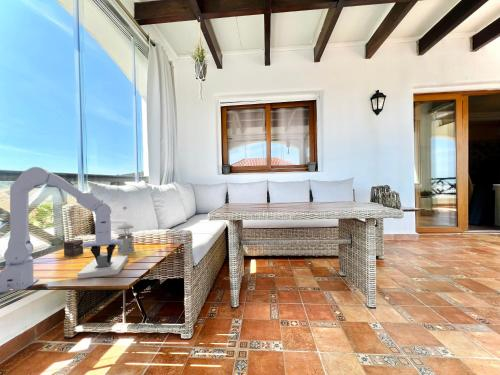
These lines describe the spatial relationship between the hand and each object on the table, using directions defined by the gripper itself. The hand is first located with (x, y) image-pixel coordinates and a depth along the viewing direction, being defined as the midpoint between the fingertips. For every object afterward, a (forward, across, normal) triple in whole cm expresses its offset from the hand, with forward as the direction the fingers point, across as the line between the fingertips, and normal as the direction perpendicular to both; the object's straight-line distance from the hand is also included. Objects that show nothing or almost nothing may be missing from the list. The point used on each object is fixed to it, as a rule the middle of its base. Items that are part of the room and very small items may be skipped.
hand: (104, 262), depth 101 cm
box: (+3, +23, -32) cm, 40 cm away
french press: (+3, -3, -28) cm, 28 cm away
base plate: (+3, 0, -2) cm, 4 cm away
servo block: (+2, 0, 0) cm, 2 cm away
